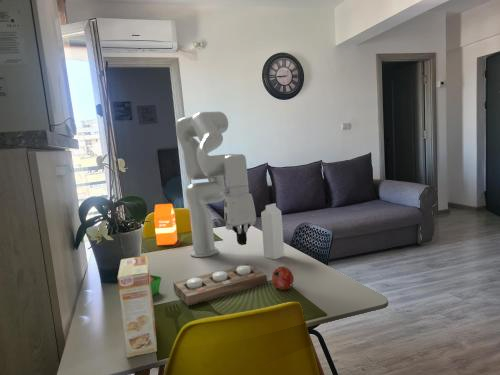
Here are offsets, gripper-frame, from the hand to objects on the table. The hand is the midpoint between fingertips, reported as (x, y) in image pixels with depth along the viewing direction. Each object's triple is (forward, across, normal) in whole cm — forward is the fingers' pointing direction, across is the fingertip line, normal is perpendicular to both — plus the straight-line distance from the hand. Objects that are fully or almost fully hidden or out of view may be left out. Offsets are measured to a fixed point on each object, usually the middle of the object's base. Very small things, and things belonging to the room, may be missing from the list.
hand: (242, 244), depth 123 cm
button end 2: (+11, 0, +1) cm, 11 cm away
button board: (+13, -9, +1) cm, 16 cm away
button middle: (+11, -9, +1) cm, 14 cm away
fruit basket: (+13, -33, +11) cm, 37 cm away
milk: (+13, +22, +16) cm, 30 cm away
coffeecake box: (+14, -39, -17) cm, 45 cm away
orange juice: (+12, -7, +72) cm, 73 cm away
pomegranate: (+14, +7, -13) cm, 20 cm away
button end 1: (+11, -18, +1) cm, 21 cm away
